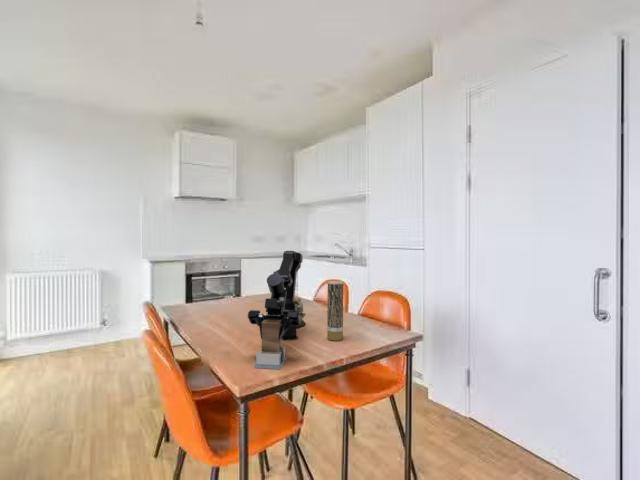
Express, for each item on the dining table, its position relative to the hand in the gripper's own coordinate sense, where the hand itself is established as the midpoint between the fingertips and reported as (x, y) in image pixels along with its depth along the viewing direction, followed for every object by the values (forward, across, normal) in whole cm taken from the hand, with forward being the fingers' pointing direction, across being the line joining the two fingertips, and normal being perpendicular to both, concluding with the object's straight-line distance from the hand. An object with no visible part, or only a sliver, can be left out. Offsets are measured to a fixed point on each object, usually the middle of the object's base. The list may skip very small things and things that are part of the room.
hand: (270, 339), depth 122 cm
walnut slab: (+4, 0, +6) cm, 7 cm away
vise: (+4, 0, +9) cm, 10 cm away
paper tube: (-16, +21, +29) cm, 39 cm away
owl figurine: (-28, -3, +42) cm, 50 cm away
